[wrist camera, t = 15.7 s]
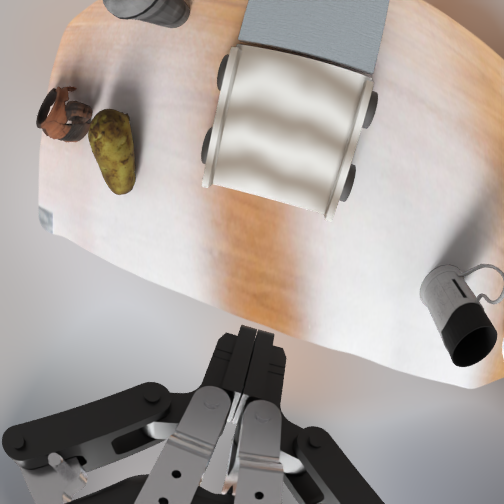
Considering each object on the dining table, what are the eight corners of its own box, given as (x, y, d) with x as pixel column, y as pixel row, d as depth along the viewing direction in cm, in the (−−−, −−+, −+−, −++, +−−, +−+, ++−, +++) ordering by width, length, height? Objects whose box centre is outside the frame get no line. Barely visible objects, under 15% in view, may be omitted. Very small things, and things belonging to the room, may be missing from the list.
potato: (99, 176, 45) (69, 190, 38) (116, 103, 39) (84, 105, 32) (138, 194, 45) (110, 210, 38) (160, 117, 39) (132, 120, 32)
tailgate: (373, 73, 28) (392, -18, 21) (238, 39, 28) (263, -49, 22) (369, 75, 29) (389, -13, 23) (241, 42, 30) (265, -43, 23)
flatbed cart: (337, 207, 41) (342, 225, 35) (208, 172, 42) (190, 183, 35) (373, 85, 32) (387, 80, 26) (234, 50, 33) (220, 39, 27)
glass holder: (411, 302, 45) (435, 366, 32) (450, 228, 39) (496, 278, 25) (447, 313, 45) (475, 372, 32) (485, 245, 38) (532, 295, 25)
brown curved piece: (64, 149, 44) (28, 138, 36) (78, 102, 44) (44, 88, 36) (101, 140, 39) (59, 125, 32) (117, 87, 39) (79, 67, 31)
